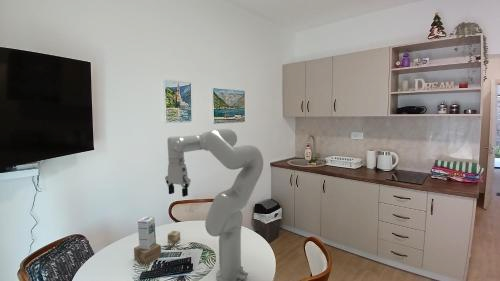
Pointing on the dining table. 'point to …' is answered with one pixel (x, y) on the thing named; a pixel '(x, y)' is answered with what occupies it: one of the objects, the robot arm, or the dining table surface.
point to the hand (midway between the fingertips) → (178, 194)
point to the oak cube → (174, 237)
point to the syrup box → (146, 233)
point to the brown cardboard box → (147, 254)
